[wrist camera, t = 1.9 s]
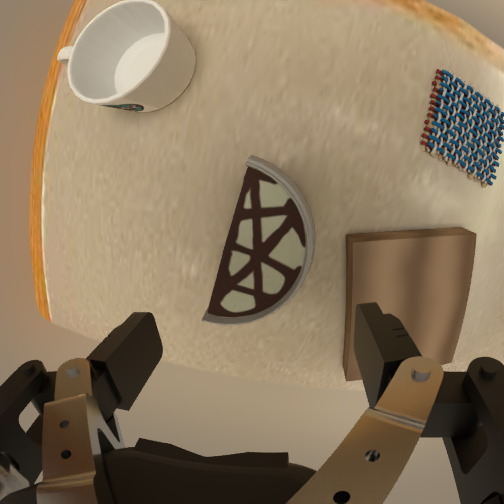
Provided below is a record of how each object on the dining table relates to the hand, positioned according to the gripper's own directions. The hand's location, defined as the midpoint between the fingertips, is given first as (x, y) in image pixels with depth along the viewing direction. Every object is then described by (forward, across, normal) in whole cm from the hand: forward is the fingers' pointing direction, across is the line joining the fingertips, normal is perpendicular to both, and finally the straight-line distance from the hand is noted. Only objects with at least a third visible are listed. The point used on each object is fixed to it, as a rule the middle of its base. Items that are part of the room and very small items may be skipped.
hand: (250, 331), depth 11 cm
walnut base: (+18, -14, +9) cm, 24 cm away
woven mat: (+18, -22, -10) cm, 31 cm away
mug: (+18, +12, -19) cm, 29 cm away
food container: (+18, 0, 0) cm, 18 cm away
